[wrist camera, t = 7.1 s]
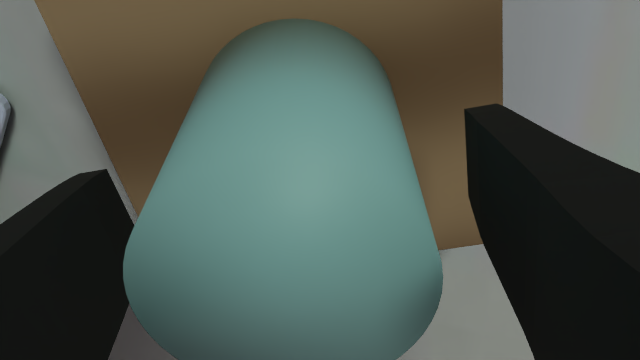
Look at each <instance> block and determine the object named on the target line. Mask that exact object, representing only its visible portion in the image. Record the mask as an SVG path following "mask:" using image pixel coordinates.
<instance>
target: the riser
mask: <svg viewBox="0 0 640 360" xmlns="http://www.w3.org/2000/svg"><path fill="white" fill-rule="evenodd" d="M35 2H36V5H37V7H38V9H39V11H40V13H41V15H42V17H43V19H44V21H45V23H46V25H47V27H48V30H49V32H50V34H51V36H52V38H53V40H54V42H55V44H56V46H57V48H58V50H59V53H60V55H61V57H62V59H63V61H64V63H65V65H66V67H67V69H68V71H69V73H70V75H71V78H72V80H73V82H74V84H75V86H76V88H77V90H78V92H79V94H80V96H81V98H82V100H83V103H84V105H85V107H86V109H87V111H88V113H89V115H90V117H91V119H92V121H93V123H94V125H95V128H96V130H97V132H98V134H99V136H100V138H101V140H102V142H103V144H104V146H105V148H106V151H107V153H108V155H109V157H110V159H111V161H112V163H113V165H114V167H115V169H116V171H117V173H118V176H119V178H120V180H121V182H122V184H123V186H124V188H125V190H126V192H127V194H128V196H129V198H130V201H131V203H132V205H133V207H134V209H135V211H136V213H137V215H138V217H139V215H140V213H141V211H142V209H143V207H144V204H145V202H146V200H147V198H148V196H149V194H150V192H151V189H152V187H153V185H154V183H155V181H156V179H157V177H158V174H159V172H160V170H161V168H162V166H163V164H164V162H165V159H166V157H167V155H168V153H169V151H170V149H171V147H172V144H173V142H174V140H175V138H176V136H177V134H178V131H179V129H180V127H181V125H182V123H183V121H184V119H185V116H186V114H187V112H188V110H189V108H190V106H191V104H192V101H193V99H194V97H195V95H196V93H197V91H198V89H199V86H200V84H201V82H202V80H203V78H204V76H205V74H206V71H207V69H208V68H209V66H210V64H211V63H212V61H213V59H214V58H215V57H216V55H217V54H218V53H219V52H220V50H221V49H222V48H223V47H224V46H225V45H226V44H228V43H229V42H230V41H231V40H232V39H234V38H235V37H236V36H238V35H239V34H241V33H242V32H244V31H246V30H248V29H250V28H252V27H254V26H257V25H260V24H263V23H266V22H270V21H275V20H280V19H294V18H295V19H309V20H315V21H320V22H324V23H327V24H330V25H333V26H336V27H338V28H340V29H342V30H344V31H346V32H348V33H349V34H351V35H352V36H354V37H355V38H357V39H358V40H360V41H361V42H362V43H363V44H364V45H365V46H367V47H368V48H369V49H370V50H371V51H372V53H373V54H374V55H375V56H376V57H377V58H378V60H379V61H380V63H381V65H382V66H383V68H384V69H385V71H386V73H387V76H388V78H389V80H390V83H391V87H392V90H393V94H394V97H395V101H396V104H397V108H398V111H399V115H400V118H401V122H402V125H403V129H404V132H405V136H406V139H407V143H408V146H409V150H410V153H411V157H412V160H413V164H414V167H415V171H416V174H417V178H418V181H419V185H420V188H421V192H422V195H423V199H424V202H425V206H426V210H427V213H428V217H429V220H430V224H431V227H432V231H433V234H434V238H435V241H436V245H437V248H438V250H443V249H450V248H457V247H465V246H472V245H479V244H483V242H482V239H481V237H480V234H479V230H478V227H477V224H476V221H475V217H474V214H473V211H472V207H471V204H470V200H469V197H468V180H467V159H466V138H465V117H464V109H466V108H472V107H478V106H484V105H490V104H496V103H498V104H500V105H502V106H503V52H502V0H35Z"/></svg>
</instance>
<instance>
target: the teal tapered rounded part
mask: <svg viewBox="0 0 640 360" xmlns="http://www.w3.org/2000/svg"><path fill="white" fill-rule="evenodd" d="M123 280H124V285H125V290H126V295H127V297H128V300H129V303H130V305H131V308H132V310H133V312H134V313H135V315H136V317H137V319H138V321H139V322H140V323H141V325H142V326H143V327H144V329H145V330H146V331H147V333H148V334H149V335H150V336H151V337H152V338H153V339H154V340H155V341H156V342H157V343H158V344H159V345H160V346H161V347H162V348H164V349H165V350H166V351H167V352H169V353H170V354H171V355H172V356H174V357H175V358H177V359H178V360H396V359H397V358H399V357H400V356H401V355H403V354H404V353H405V352H406V351H407V350H408V349H409V348H411V347H412V346H413V345H414V344H415V343H416V341H417V340H418V339H419V338H420V337H421V336H422V335H423V334H424V332H425V330H426V329H427V327H428V326H429V324H430V323H431V321H432V319H433V317H434V315H435V313H436V310H437V308H438V305H439V301H440V298H441V294H442V284H443V273H442V263H441V259H440V255H439V252H438V248H437V245H436V241H435V238H434V234H433V231H432V227H431V224H430V220H429V217H428V213H427V210H426V206H425V202H424V199H423V195H422V192H421V188H420V185H419V181H418V178H417V174H416V171H415V167H414V164H413V160H412V157H411V153H410V150H409V146H408V143H407V139H406V136H405V132H404V129H403V125H402V122H401V118H400V115H399V111H398V108H397V104H396V101H395V97H394V94H393V90H392V87H391V83H390V80H389V78H388V76H387V73H386V71H385V69H384V68H383V66H382V65H381V63H380V61H379V60H378V58H377V57H376V56H375V55H374V54H373V53H372V51H371V50H370V49H369V48H368V47H367V46H365V45H364V44H363V43H362V42H361V41H360V40H358V39H357V38H355V37H354V36H352V35H351V34H349V33H348V32H346V31H344V30H342V29H340V28H338V27H336V26H333V25H330V24H327V23H324V22H320V21H315V20H309V19H295V18H294V19H280V20H275V21H270V22H266V23H263V24H260V25H257V26H254V27H252V28H250V29H248V30H246V31H244V32H242V33H241V34H239V35H238V36H236V37H235V38H234V39H232V40H231V41H230V42H229V43H228V44H226V45H225V46H224V47H223V48H222V49H221V50H220V52H219V53H218V54H217V55H216V57H215V58H214V59H213V61H212V63H211V64H210V66H209V68H208V69H207V71H206V74H205V76H204V78H203V80H202V82H201V84H200V86H199V89H198V91H197V93H196V95H195V97H194V99H193V101H192V104H191V106H190V108H189V110H188V112H187V114H186V116H185V119H184V121H183V123H182V125H181V127H180V129H179V131H178V134H177V136H176V138H175V140H174V142H173V144H172V147H171V149H170V151H169V153H168V155H167V157H166V159H165V162H164V164H163V166H162V168H161V170H160V172H159V174H158V177H157V179H156V181H155V183H154V185H153V187H152V189H151V192H150V194H149V196H148V198H147V200H146V202H145V204H144V207H143V209H142V211H141V213H140V215H139V217H138V219H137V222H136V224H135V226H134V228H133V230H132V232H131V235H130V238H129V240H128V243H127V246H126V249H125V255H124V261H123Z"/></svg>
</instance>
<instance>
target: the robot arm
mask: <svg viewBox="0 0 640 360" xmlns="http://www.w3.org/2000/svg"><path fill="white" fill-rule="evenodd" d="M10 112H11V106H10V104H9V102H8V100H7V99H6V98H5V97H4V96H3V95H2V94H0V148H1V144H2V141H3V137H4V134H5V130H6V127H7V123H8V119H9V116H10ZM464 117H465V138H466V159H467V180H468V197H469V200H470V204H471V207H472V211H473V214H474V217H475V221H476V224H477V227H478V230H479V234H480V237H481V239H482V242H483V244H484V246H485V248H486V251H487V253H488V255H489V257H490V259H491V262H492V264H493V266H494V268H495V270H496V273H497V275H498V277H499V279H500V281H501V283H502V286H503V288H504V290H505V292H506V294H507V296H508V299H509V301H510V303H511V305H512V307H513V309H514V312H515V314H516V316H517V318H518V320H519V322H520V325H521V327H522V329H523V331H524V333H525V336H526V338H527V341H528V343H529V346H530V348H531V351H532V353H533V356H534V359H535V360H640V173H638V172H636V171H633V170H631V169H628V168H626V167H623V166H621V165H618V164H616V163H614V162H612V161H609V160H607V159H605V158H603V157H600V156H598V155H596V154H594V153H591V152H589V151H587V150H585V149H583V148H581V147H579V146H577V145H575V144H573V143H571V142H569V141H567V140H565V139H563V138H561V137H559V136H557V135H555V134H554V133H552V132H550V131H548V130H546V129H544V128H542V127H541V126H539V125H537V124H535V123H533V122H532V121H530V120H528V119H526V118H524V117H523V116H521V115H519V114H517V113H515V112H514V111H512V110H510V109H508V108H506V107H504V106H502V105H500V104H498V103H496V104H490V105H484V106H478V107H472V108H466V109H464ZM133 228H134V224H133V222H132V220H131V218H130V216H129V214H128V212H127V210H126V208H125V206H124V204H123V201H122V199H121V197H120V195H119V193H118V191H117V189H116V187H115V185H114V183H113V181H112V179H111V177H110V175H109V173H108V171H107V169H104V170H98V171H92V172H86V173H80V174H77V175H75V176H73V177H71V178H69V179H68V180H66V181H64V182H62V183H61V184H59V185H58V186H56V187H54V188H53V189H51V190H50V191H48V192H47V193H45V194H44V195H42V196H41V197H39V198H38V199H36V200H35V201H33V202H32V203H30V204H29V205H28V206H26V207H25V208H23V209H22V210H20V211H19V212H17V213H16V214H15V215H13V216H12V217H10V218H9V219H7V220H6V221H5V222H3V223H2V224H0V360H108V357H109V355H110V352H111V350H112V347H113V344H114V342H115V339H116V337H117V334H118V332H119V329H120V326H121V324H122V321H123V319H124V316H125V313H126V311H127V308H128V305H129V300H128V297H127V295H126V290H125V285H124V280H123V261H124V255H125V249H126V246H127V243H128V240H129V238H130V235H131V232H132V230H133Z"/></svg>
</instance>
